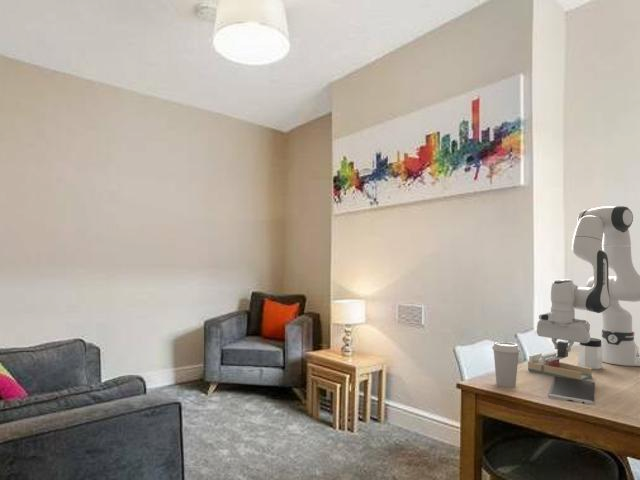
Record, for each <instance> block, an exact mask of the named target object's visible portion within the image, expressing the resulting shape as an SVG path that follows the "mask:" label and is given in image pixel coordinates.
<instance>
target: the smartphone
mask: <svg viewBox="0 0 640 480" xmlns="http://www.w3.org/2000/svg"><path fill="white" fill-rule="evenodd" d="M595 391H596V382H594V381H592V380H580V379H573V378H566V377H559V376H554V378H553V381H552V383H551V386H550V388H549V391H548V394H547V397H548V398H549V399H553V400H554V399H555V400H562V401H567V402H568V401H572V403H578V404H579V403H580V404H583V402H584V405H588V406H589V405H590V406H594V405H595Z"/></svg>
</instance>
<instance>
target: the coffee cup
mask: <svg viewBox="0 0 640 480" xmlns="http://www.w3.org/2000/svg"><path fill="white" fill-rule="evenodd" d="M491 348H492V350H493V356H494V359H493V360H494V369H495V382H496V383H495V385H497V386H498V387H502V388H516V385H517V376H518V374H517V373H518V364H519V354H520V353H521V349H520V347H519V345H518V343H514V342H509V341H496V342H494V343H493V346H492V347H491Z"/></svg>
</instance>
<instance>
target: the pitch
mask: <svg viewBox="0 0 640 480" xmlns="http://www.w3.org/2000/svg"><path fill="white" fill-rule="evenodd" d="M555 356H557V353H556V352H552V353H548V354H545V355H542V353H541V352H538V353H534V354H530V355H528V362H527V370H529V372H532V371H534V373H537V372H538V373H537V374H542V375H546V376H552V377H555V376H559V377H566V378H573V379H580V380H586V381H588V380H589V379H591V378H592V376H593V371H592V370H593V369H592V368H587V367H582V366H579V365H578V364H577V365H575V364H571V363H566V362H560V361H559V368H557V367H552V366H549V363H548V365H545V359H549V358H552V357H555ZM540 358H542V364H538V363H537V362H538V360H539V359H540Z"/></svg>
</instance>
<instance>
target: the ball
mask: <svg viewBox="0 0 640 480" xmlns="http://www.w3.org/2000/svg"><path fill="white" fill-rule="evenodd" d="M546 359H547V358H546ZM546 359H545V365H548V363H547V362H546ZM537 363H538V364H542V358H540V359H539V360H538V362H537Z"/></svg>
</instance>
